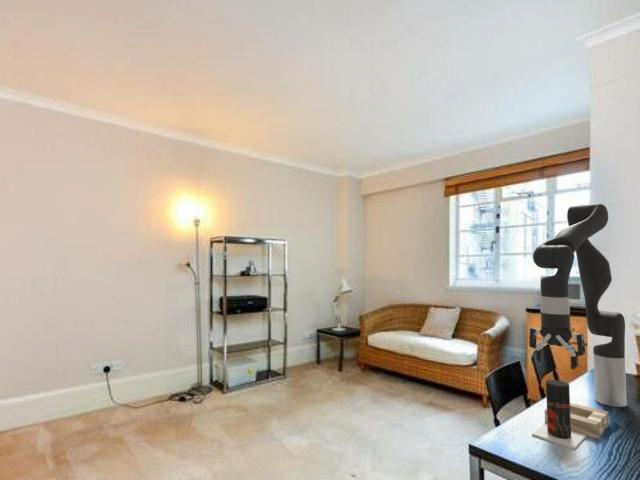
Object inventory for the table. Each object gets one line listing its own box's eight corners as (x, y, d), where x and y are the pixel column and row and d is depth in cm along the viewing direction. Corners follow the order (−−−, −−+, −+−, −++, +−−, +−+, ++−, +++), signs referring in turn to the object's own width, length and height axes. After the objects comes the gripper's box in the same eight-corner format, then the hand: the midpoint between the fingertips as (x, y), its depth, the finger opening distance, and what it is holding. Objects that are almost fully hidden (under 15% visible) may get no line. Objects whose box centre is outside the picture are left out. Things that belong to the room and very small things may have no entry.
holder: (559, 411, 130) (558, 399, 131) (609, 424, 120) (608, 411, 120) (544, 422, 121) (544, 410, 121) (597, 438, 111) (597, 424, 111)
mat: (545, 424, 120) (544, 422, 120) (586, 437, 112) (586, 435, 112) (532, 435, 112) (532, 433, 112) (575, 449, 104) (575, 447, 104)
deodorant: (574, 439, 109) (573, 386, 109) (552, 437, 110) (550, 385, 111) (565, 430, 114) (564, 380, 115) (544, 429, 116) (542, 379, 116)
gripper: (586, 312, 111) (588, 368, 110) (534, 307, 121) (535, 358, 121) (579, 315, 106) (581, 373, 105) (525, 310, 116) (526, 363, 116)
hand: (556, 365), depth 113 cm, fingers open, 8 cm apart
